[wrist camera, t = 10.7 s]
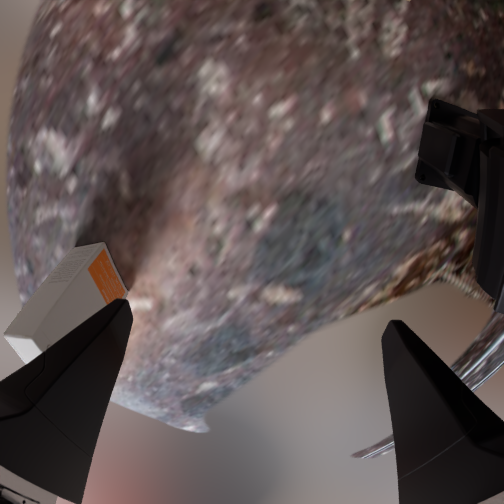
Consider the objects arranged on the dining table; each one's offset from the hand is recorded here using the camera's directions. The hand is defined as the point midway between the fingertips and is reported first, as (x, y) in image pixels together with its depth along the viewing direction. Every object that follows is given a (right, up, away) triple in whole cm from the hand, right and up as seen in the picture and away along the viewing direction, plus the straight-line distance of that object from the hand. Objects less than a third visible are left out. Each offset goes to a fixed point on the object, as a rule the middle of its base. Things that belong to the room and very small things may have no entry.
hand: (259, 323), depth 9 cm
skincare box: (-15, +1, +16) cm, 22 cm away
